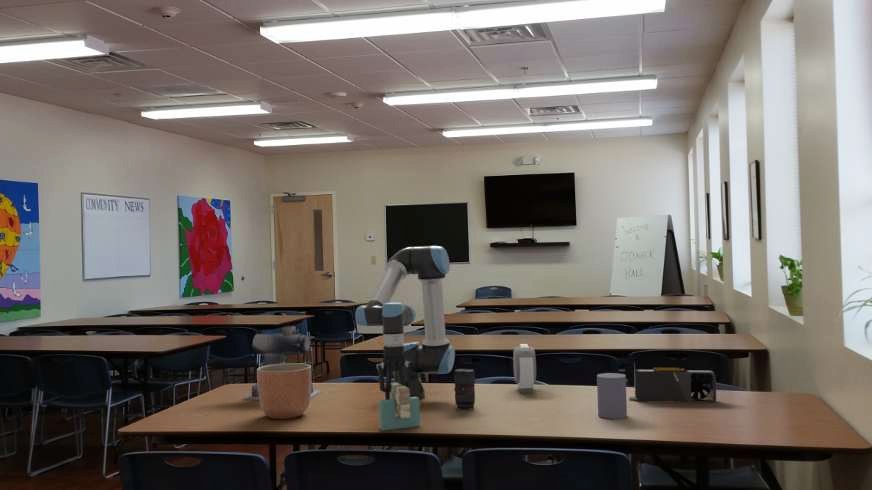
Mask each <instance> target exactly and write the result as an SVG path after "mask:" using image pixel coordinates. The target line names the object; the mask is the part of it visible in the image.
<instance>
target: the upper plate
mask: <svg viewBox="0 0 872 490" xmlns="http://www.w3.org/2000/svg"><path fill="white" fill-rule="evenodd" d="M390 392H391V393H392V399H393V400H394V401H395V414H396V417H400V418H408V417H410V392H409V388H407V387H405V386H403V385H401V384H399V383H393V382H391V387H390Z"/></svg>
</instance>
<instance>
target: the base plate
mask: <svg viewBox="0 0 872 490" xmlns="http://www.w3.org/2000/svg"><path fill="white" fill-rule="evenodd" d="M378 407H379V408H378V409H379V411H378V412H379V413H378V414H379V429H380V430H381V431H388V430H397V429H398V430H399V429H407V428H414V427H420V426H421V419H420V418H421V416H420V412H421V411H420V399H419V398H418V397H410V417H408V418H400V417H399V416H396V413H395V401H394V400H393V399H388V400H385V399H381V400H378Z"/></svg>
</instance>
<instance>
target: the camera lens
mask: <svg viewBox="0 0 872 490" xmlns="http://www.w3.org/2000/svg"><path fill="white" fill-rule="evenodd" d="M453 375H454V400H455V401H454V402H455V405H456V409H458V410H463V409H465V410H472V409H474V407H475V400H476V392H475V391H476V390H475V389H476V387H475V384H476V383H475V382H476V376H475V375H476V374H475V370H474V369H470V368H458V369H455V370H454V374H453Z"/></svg>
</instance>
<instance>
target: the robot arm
mask: <svg viewBox="0 0 872 490" xmlns="http://www.w3.org/2000/svg"><path fill="white" fill-rule="evenodd" d="M449 272H450V259H449V254H448V252H447V250H446V249H445V248H444V247H443V246H439V245H428V246H427V245H424V246H422V245H421V246H408V247H404V248H402V249H400V250H398V251H397V252H395V254H393V256H391V257H390V258H389V259H388V260H387V263H386V264H385V266H384V273H383V275H382V276H381V278H380V280H379V282H378V284H377V286H376V287H375V289H374V291H373V293H372V295H371V296H370V298H369V300H368V302H367V304H366V305H360V306H358V307H357V308H356V310H355V315H354V316H355V322H356V324H357V325H358V326H360V327H361V326H362V327H382V339H383V340H382V341H383V345H384V346H383V359H382V362H380V363H376V365H375V367H376V370H377V373H378V374H377V375H378V385H379V390H380V391H381V392H382V393H384V395H385V397H384V398H385V399H384V400H388V399H392V393H391V392H390V387H391V383H399V384H401V385H403V386H405V387H407V388H409V392H410V397H418V398H419V400H421V399H423V398H425V397H426V391H425V388H424V385H423V383H422V380H421V374H437V375H440V374H441V375H442V374H444V375H445V374H448V373H450V372H451V371H452V370H453V366H454V363H455V358H456V350H455V347H454V346H453V345H450V344H451V343H450V340H449V339H448V338H447V337H446V324H445V323H446V322H445V307H444V290H443V289H444V288H443V281H444V280H445V279H446V275H447V274H448V273H449ZM409 275H417V280H418V281H419V282H420V284H421V288H422V289H421V292H422V305H423V306H422V307H423V309H422V310H423V321H424V323H423V324H424V340H422V343H421V344H420V342H419V341H412V342H405V332H404V331H405V329H404V327H407V326H409V325H412V323H414V321H415V320H416V311H415V309H414V308H413V307H412V306H410V305H406V304H405V305H403V303H402V302H396V301H395V302H391V301H392V299H393V297H394V295H395V293H396V292H397V289H398V287H399V285H400V283H401V281H402V280H404V279H405V278H406V277H407V276H409ZM384 367H385V368H386V378H385V376H384V375H385V374H384ZM392 377H393V380H392Z"/></svg>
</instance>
